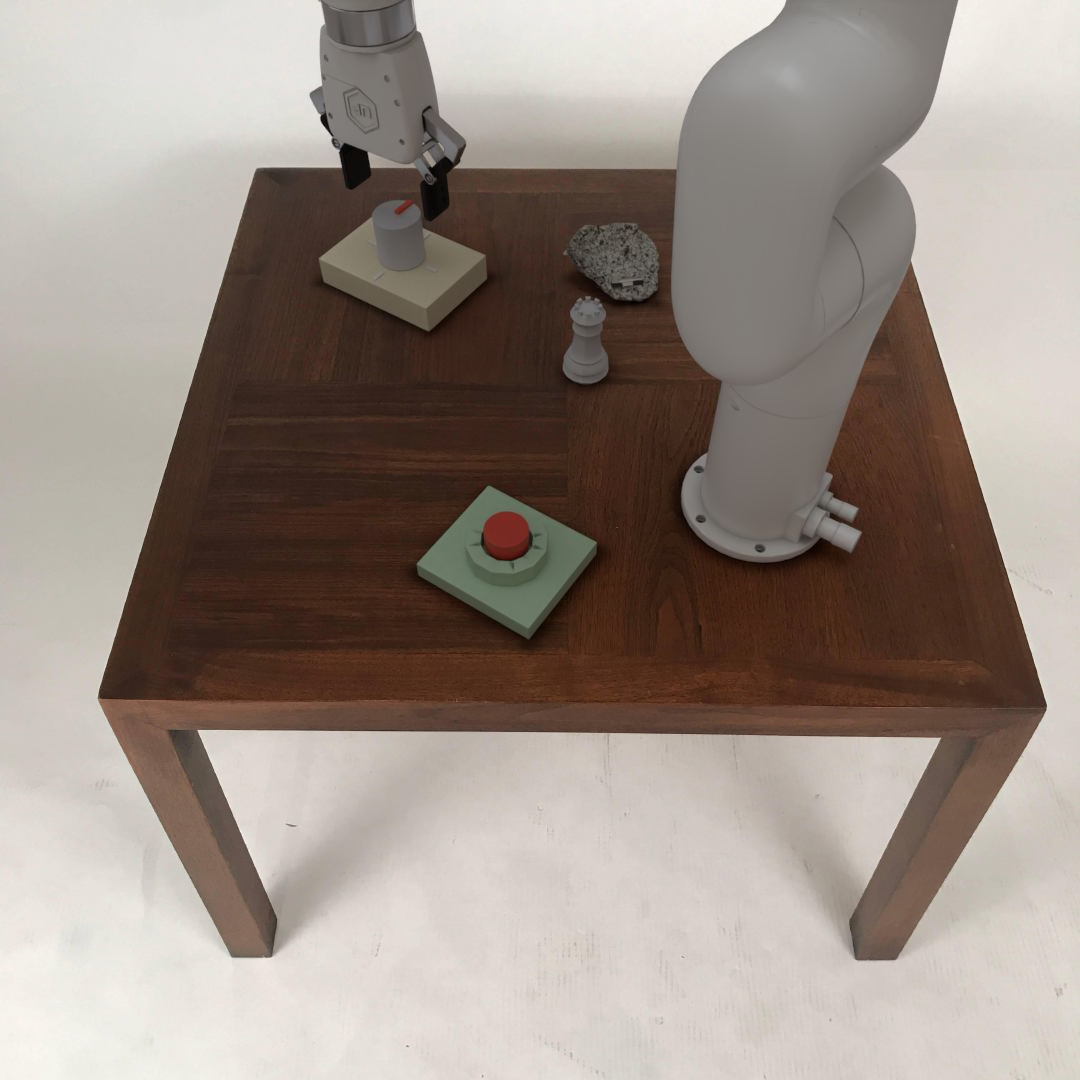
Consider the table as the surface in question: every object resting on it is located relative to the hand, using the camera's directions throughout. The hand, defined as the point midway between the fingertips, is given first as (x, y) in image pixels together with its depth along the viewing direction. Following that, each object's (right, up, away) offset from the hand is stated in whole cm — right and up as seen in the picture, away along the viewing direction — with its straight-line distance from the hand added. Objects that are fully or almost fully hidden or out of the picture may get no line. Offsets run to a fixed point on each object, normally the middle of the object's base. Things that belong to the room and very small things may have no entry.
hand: (397, 197), depth 95 cm
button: (+11, -33, -16) cm, 39 cm away
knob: (0, -4, +6) cm, 7 cm away
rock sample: (+23, -6, +9) cm, 25 cm away
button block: (+11, -35, -14) cm, 39 cm away
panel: (0, -6, +8) cm, 10 cm away
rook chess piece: (+18, -17, 0) cm, 25 cm away
